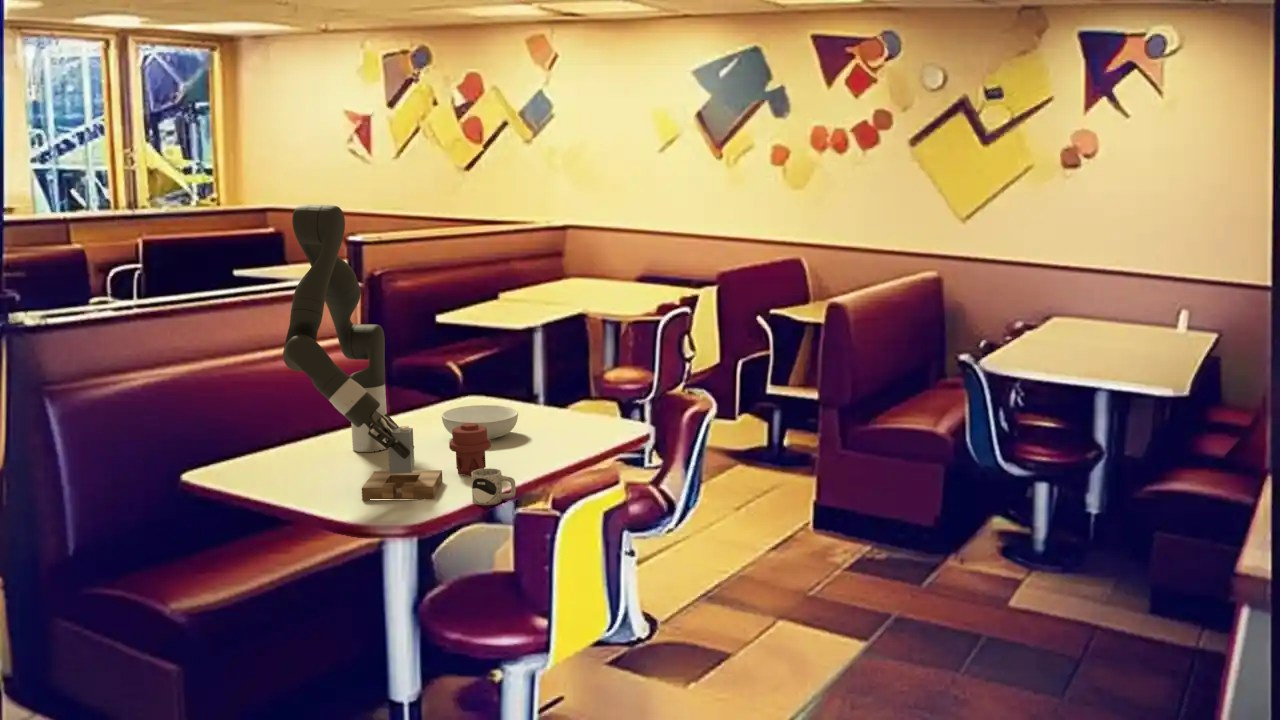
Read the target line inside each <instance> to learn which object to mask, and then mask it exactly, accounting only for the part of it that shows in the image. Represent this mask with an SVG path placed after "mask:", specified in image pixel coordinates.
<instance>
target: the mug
mask: <svg viewBox="0 0 1280 720" xmlns="http://www.w3.org/2000/svg"><path fill="white" fill-rule="evenodd" d="M471 475H472V477H471V495H472V497H471V498H472V503H473V504H475V505H476V506H477V505H479V506H493V505H497V504H500V503H502V502H503V500H506V499H513V498H515V496H516V492H517V491H516V489H517V488H516V481H515V478H513V477H512V476H506V475H502V470H500V468H499V469H497V468H491V467H490V468H487V467H485V468H484V469H478V470H475V471H473V472H472V473H471ZM502 482H509V483H510V487H511V489H510V490H511V491H510V492H509V493H504V492H503V483H502Z"/></svg>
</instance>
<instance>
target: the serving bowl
mask: <svg viewBox="0 0 1280 720" xmlns="http://www.w3.org/2000/svg"><path fill="white" fill-rule="evenodd" d="M518 416H519V411H518V410H517V409H515V408H513V407H510V406H507V405H506V406H505V405H494V404H476V405H475V404H474V405H464V406H459V407H453V408H450V409H447V410H445V411H443V412H442V414H441V421H442V424H443V426H444V428H445V429H446V431H447V432H449V434H451V435H452V429H454V428H456V427H459V426H461V425H462V424H465V423H476V424H478V425H480V426H484V427H486V428H487V438H488V439H491V440H494V439H496V438H500V437H504V436H505V435H508V434H509V433H510V432H512V431H513V429H514V428H515V427H516V425H517V422H518ZM493 438H494V439H493Z"/></svg>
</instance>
